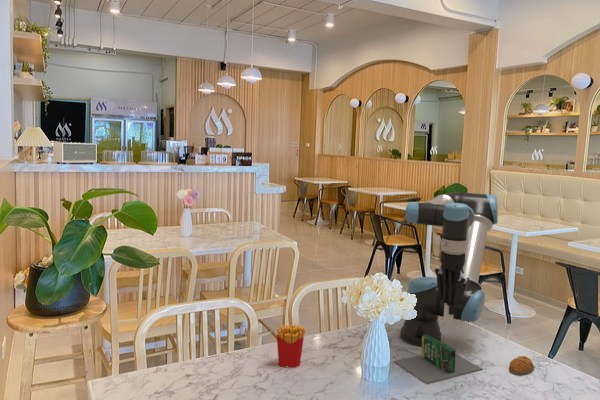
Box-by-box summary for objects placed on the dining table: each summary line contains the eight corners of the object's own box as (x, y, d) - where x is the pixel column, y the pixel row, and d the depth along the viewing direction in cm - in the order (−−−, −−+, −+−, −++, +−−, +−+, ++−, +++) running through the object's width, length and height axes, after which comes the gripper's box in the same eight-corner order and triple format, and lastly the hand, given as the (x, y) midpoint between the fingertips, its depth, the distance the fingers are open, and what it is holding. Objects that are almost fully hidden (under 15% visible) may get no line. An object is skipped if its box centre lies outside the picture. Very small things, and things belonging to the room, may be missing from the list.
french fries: (275, 367, 152) (277, 328, 150) (276, 361, 156) (277, 323, 155) (304, 367, 152) (305, 329, 151) (303, 361, 157) (305, 324, 155)
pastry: (524, 379, 150) (525, 367, 150) (503, 371, 155) (504, 360, 155) (535, 370, 157) (536, 359, 156) (514, 363, 162) (515, 352, 161)
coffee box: (448, 375, 151) (420, 357, 162) (455, 372, 152) (426, 355, 163) (450, 351, 149) (421, 335, 161) (456, 349, 151) (428, 333, 162)
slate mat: (393, 362, 158) (393, 360, 158) (447, 350, 169) (447, 349, 169) (426, 384, 144) (426, 383, 144) (482, 369, 155) (482, 368, 155)
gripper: (429, 248, 154) (425, 317, 157) (459, 257, 142) (454, 332, 145) (447, 246, 157) (442, 314, 160) (477, 255, 145) (471, 328, 148)
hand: (447, 322), depth 153 cm, fingers closed
